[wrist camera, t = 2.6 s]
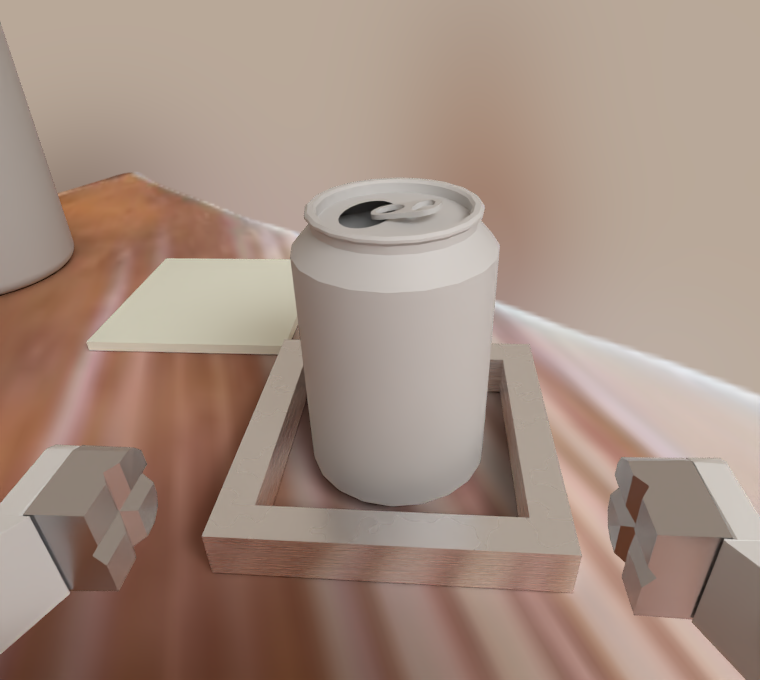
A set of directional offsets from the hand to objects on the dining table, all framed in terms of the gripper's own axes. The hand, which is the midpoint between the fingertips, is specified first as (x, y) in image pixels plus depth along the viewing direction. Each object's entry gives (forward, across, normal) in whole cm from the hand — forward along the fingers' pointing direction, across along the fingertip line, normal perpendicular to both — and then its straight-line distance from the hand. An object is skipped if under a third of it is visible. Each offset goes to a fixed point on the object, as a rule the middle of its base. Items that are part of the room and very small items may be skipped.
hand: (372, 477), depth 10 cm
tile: (+26, +14, +11) cm, 32 cm away
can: (+12, +1, +11) cm, 17 cm away
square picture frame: (+12, +1, +11) cm, 17 cm away
